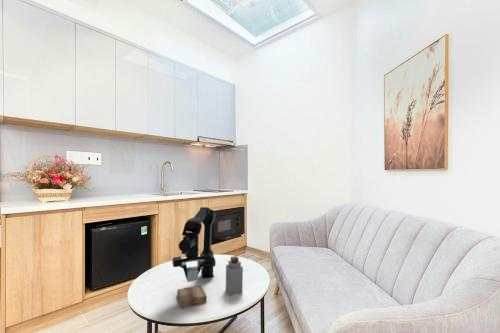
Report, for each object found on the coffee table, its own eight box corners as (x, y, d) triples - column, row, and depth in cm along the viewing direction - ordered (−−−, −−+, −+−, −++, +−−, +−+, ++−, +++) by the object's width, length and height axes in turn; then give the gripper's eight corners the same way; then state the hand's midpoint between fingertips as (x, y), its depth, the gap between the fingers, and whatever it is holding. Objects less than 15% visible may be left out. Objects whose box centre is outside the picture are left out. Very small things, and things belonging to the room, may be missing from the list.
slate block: (195, 275, 116) (196, 266, 117) (197, 280, 112) (198, 269, 112) (185, 277, 114) (186, 267, 114) (187, 282, 110) (187, 271, 110)
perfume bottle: (230, 296, 116) (231, 260, 116) (225, 290, 122) (226, 256, 122) (242, 293, 119) (242, 258, 120) (237, 287, 125) (237, 254, 126)
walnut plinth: (200, 290, 121) (200, 284, 121) (206, 302, 110) (206, 296, 110) (177, 295, 116) (177, 289, 116) (181, 308, 105) (181, 301, 105)
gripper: (206, 239, 125) (206, 267, 124) (171, 243, 117) (170, 273, 116) (212, 245, 115) (211, 276, 114) (174, 249, 107) (173, 283, 106)
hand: (191, 276), depth 113 cm, fingers closed on slate block, 5 cm apart
